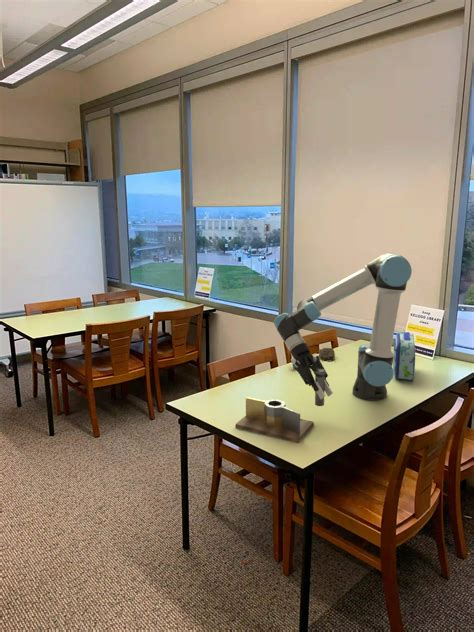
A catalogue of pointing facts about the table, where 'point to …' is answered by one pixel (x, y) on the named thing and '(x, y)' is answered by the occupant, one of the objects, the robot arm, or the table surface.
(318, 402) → the hinge pin
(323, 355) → the concrete sample
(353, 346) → the table surface
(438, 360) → the table surface
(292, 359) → the die
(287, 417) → the hinge
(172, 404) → the table surface
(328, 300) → the robot arm
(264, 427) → the hinge base
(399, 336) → the lunch box
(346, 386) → the table surface
